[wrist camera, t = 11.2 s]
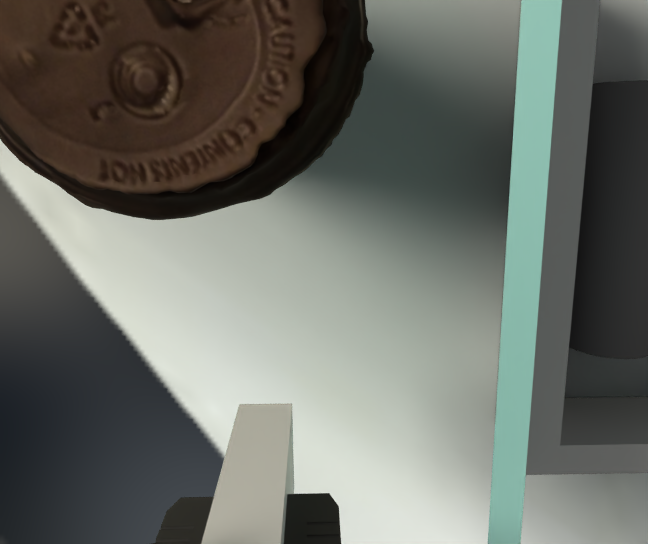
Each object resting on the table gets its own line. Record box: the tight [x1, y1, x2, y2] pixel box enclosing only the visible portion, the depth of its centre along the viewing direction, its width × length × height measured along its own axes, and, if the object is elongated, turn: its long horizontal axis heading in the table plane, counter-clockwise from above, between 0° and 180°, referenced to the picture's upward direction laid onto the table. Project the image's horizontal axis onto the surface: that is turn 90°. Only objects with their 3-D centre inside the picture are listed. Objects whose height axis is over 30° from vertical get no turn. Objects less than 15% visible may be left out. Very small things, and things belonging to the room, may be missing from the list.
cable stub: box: [569, 81, 648, 359], centre depth 23 cm, size 10×3×3 cm, turn 1°
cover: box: [488, 0, 562, 544], centre depth 17 cm, size 18×9×1 cm
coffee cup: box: [0, 0, 374, 220], centre depth 17 cm, size 9×8×13 cm
